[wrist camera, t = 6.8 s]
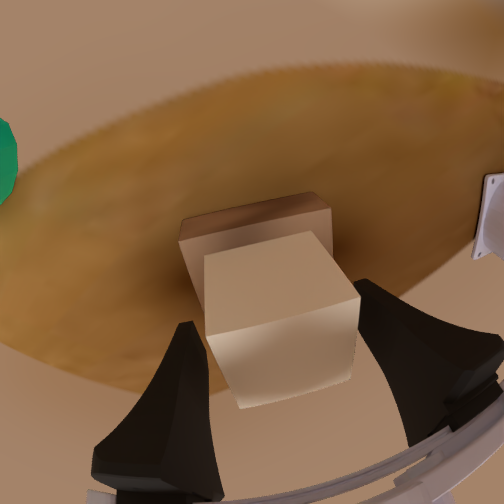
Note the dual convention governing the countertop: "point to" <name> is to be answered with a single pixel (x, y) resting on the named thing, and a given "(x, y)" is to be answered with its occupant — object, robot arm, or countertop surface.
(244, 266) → the block
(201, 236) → the stand
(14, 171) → the candle
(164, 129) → the countertop surface
